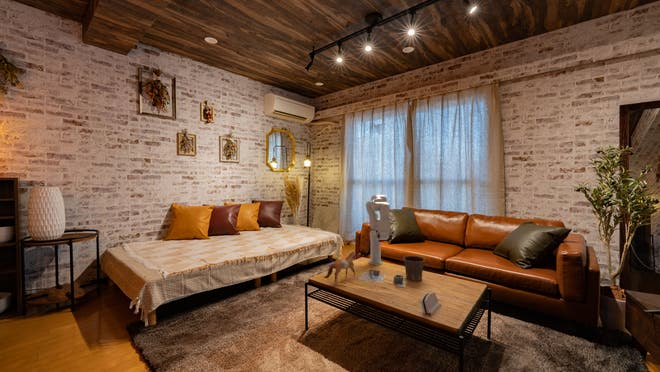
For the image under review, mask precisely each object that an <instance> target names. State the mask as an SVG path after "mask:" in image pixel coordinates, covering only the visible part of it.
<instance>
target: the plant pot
mask: <svg viewBox="0 0 660 372" xmlns="http://www.w3.org/2000/svg"><path fill="white" fill-rule="evenodd" d="M403 261H404V262H403V263H404V267H405V278H406V279H407V280H409V281H411V282H420V281H422V280H423V271H424V265H425V258H424V257H421V256H416V255H407V256H403Z"/></svg>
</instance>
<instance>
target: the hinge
mask: <svg viewBox="0 0 660 372" xmlns="http://www.w3.org/2000/svg"><path fill="white" fill-rule="evenodd" d="M420 304H421V307H422V312H423V314H430V316H432V317H433V316H434V315H435V313H436V312H437V311H438V310H439V309H440V308H441V307H442V304H441V302H440V301H439V300H438V297H437V293H435V292H428V293H425V294H424V295H423V296H422V297H421V300H420Z"/></svg>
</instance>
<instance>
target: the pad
mask: <svg viewBox="0 0 660 372" xmlns="http://www.w3.org/2000/svg"><path fill="white" fill-rule="evenodd" d="M407 283H408V281H407V280H403V284H402V285H400V284H396V283H395V285H394V287H397V288H398V287H399V288H403V289H405V288H406V286H407Z"/></svg>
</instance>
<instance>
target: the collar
mask: <svg viewBox="0 0 660 372" xmlns="http://www.w3.org/2000/svg"><path fill="white" fill-rule="evenodd" d="M403 281H404V275H401V274H394V276H393V283H395V285H396V284H400V285H402V284H403Z"/></svg>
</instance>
